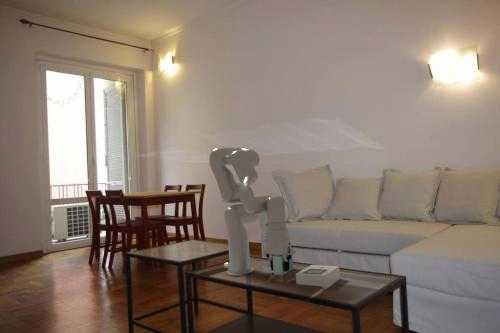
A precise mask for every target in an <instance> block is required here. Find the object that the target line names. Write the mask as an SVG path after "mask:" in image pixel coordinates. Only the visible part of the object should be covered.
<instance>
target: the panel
mask: <svg viewBox="0 0 500 333" xmlns="http://www.w3.org/2000/svg"><path fill="white" fill-rule="evenodd" d="M295 278H296V279H295V281H296V282H295V285H304V286H313V287H320V288H319V289H320V290H327V289H328V288H330V287H331V286H333V285H334V284H335V283H337V281H339V280H340V279H341V274H340V266H336V265H322V264H321V265H319V264H311V265H308V266H307V267H305V268H303V269H302V270H300V271H298V272H296V273H295Z"/></svg>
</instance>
